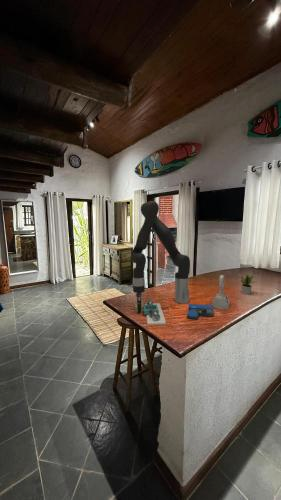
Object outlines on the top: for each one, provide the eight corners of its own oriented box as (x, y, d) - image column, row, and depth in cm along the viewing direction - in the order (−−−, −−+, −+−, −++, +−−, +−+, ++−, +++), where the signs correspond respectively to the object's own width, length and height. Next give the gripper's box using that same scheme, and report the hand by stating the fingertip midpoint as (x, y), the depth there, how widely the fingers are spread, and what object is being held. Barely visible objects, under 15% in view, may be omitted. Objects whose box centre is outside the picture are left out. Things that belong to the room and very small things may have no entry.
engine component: (211, 307, 136) (227, 310, 131) (211, 276, 134) (228, 278, 128) (215, 301, 146) (230, 304, 140) (215, 272, 143) (231, 274, 138)
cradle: (157, 309, 133) (157, 304, 133) (158, 314, 125) (158, 310, 124) (143, 309, 133) (143, 305, 133) (144, 315, 125) (144, 310, 124)
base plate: (159, 304, 143) (159, 303, 143) (165, 324, 115) (165, 322, 115) (144, 304, 143) (144, 303, 143) (147, 324, 115) (147, 323, 115)
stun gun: (215, 317, 116) (212, 304, 131) (186, 314, 120) (186, 302, 134) (215, 323, 117) (212, 310, 131) (186, 321, 121) (186, 308, 135)
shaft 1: (153, 309, 133) (153, 303, 133) (147, 309, 133) (147, 303, 133) (152, 304, 141) (152, 298, 141) (146, 304, 141) (146, 298, 141)
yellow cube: (143, 308, 136) (143, 301, 136) (143, 312, 131) (143, 304, 131) (135, 309, 136) (135, 301, 136) (135, 312, 131) (135, 304, 131)
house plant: (262, 297, 152) (263, 275, 150) (243, 297, 152) (244, 275, 150) (252, 290, 166) (253, 270, 164) (234, 291, 166) (235, 271, 164)
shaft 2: (148, 315, 124) (148, 309, 123) (154, 314, 125) (154, 308, 125) (154, 321, 116) (154, 314, 116) (160, 320, 118) (160, 313, 117)
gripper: (145, 287, 125) (145, 314, 127) (144, 280, 139) (144, 305, 141) (132, 287, 124) (133, 314, 127) (132, 281, 139) (133, 305, 141)
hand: (139, 309), depth 134 cm, fingers open, 6 cm apart
